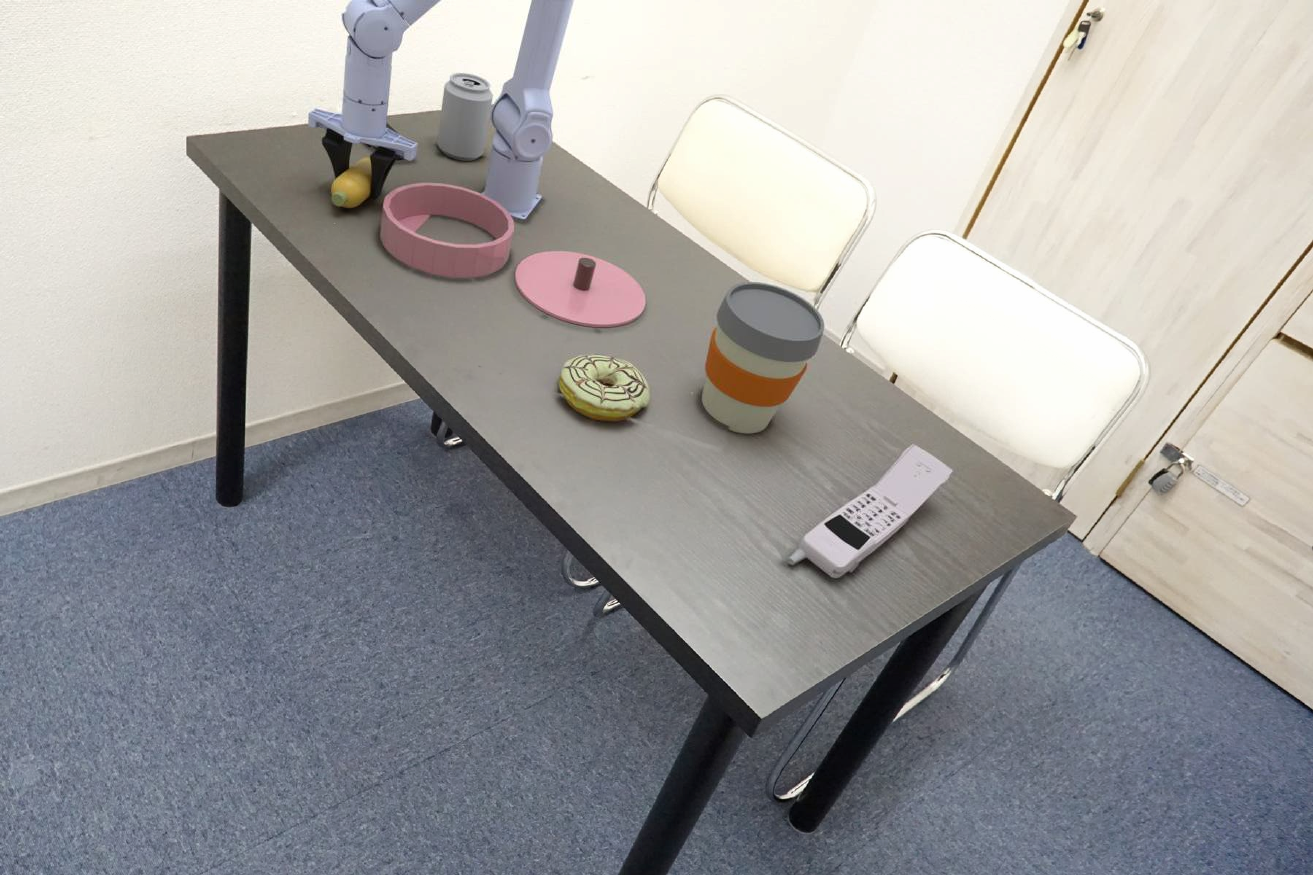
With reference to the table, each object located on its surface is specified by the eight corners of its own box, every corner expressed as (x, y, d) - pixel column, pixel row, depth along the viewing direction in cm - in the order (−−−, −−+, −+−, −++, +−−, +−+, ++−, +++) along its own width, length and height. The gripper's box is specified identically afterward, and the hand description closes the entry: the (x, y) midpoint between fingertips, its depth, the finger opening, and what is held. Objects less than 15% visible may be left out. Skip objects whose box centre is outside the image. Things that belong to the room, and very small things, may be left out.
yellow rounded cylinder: (360, 177, 138) (362, 148, 135) (389, 187, 138) (392, 158, 135) (321, 209, 128) (322, 179, 125) (352, 220, 128) (354, 190, 125)
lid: (536, 244, 138) (542, 213, 135) (654, 284, 138) (663, 255, 135) (495, 302, 124) (501, 269, 121) (628, 347, 124) (637, 315, 121)
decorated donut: (661, 414, 114) (670, 390, 112) (592, 437, 108) (600, 412, 105) (608, 365, 119) (616, 340, 117) (539, 383, 113) (546, 358, 110)
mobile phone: (956, 469, 112) (846, 556, 94) (934, 506, 115) (825, 596, 98) (913, 440, 114) (799, 520, 97) (893, 477, 118) (780, 560, 100)
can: (488, 150, 158) (499, 80, 151) (476, 167, 152) (488, 94, 145) (443, 137, 157) (453, 65, 150) (430, 153, 151) (439, 79, 144)
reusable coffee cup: (717, 448, 112) (758, 345, 103) (670, 382, 120) (704, 281, 111) (801, 437, 119) (847, 339, 109) (751, 376, 126) (790, 279, 117)
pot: (410, 203, 138) (414, 170, 135) (523, 241, 138) (529, 209, 135) (358, 253, 124) (361, 218, 121) (483, 295, 124) (490, 261, 121)
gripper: (298, 86, 121) (295, 184, 130) (406, 123, 122) (396, 218, 130) (324, 71, 127) (319, 166, 135) (427, 107, 127) (416, 199, 135)
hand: (358, 190), depth 133 cm, fingers closed on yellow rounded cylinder, 4 cm apart
